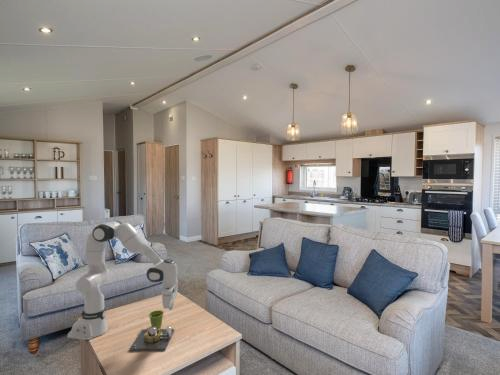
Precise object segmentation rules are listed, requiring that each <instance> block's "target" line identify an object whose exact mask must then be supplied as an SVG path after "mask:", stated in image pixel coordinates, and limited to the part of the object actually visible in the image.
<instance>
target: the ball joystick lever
mask: <svg viewBox="0 0 500 375" xmlns="http://www.w3.org/2000/svg"><path fill="white" fill-rule="evenodd" d="M147 329H148V331H147V332H145V334H144V341H146V342H147V343H149V342H156V341H158V340H160V339H161V338H162V337H168V338H169V337H171V329H172V326H171V325H168V326H167V327H166V329H167V334H162V331H161V329H162V327H160V328H157V333H156V334H154V336H150V333H149V328H147ZM171 338H172V337H171Z"/></svg>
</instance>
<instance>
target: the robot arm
mask: <svg viewBox="0 0 500 375" xmlns="http://www.w3.org/2000/svg"><path fill="white" fill-rule="evenodd" d="M86 238H87V239H86V241H85V242H86V243H85V250H84V251H85V252H84V254H85V255H84V263H85V264H86V265H87V267H88V271H87V272H86V273H85V274H83V275H82V276H81V277H79V279H77V281H76V282H75V289H76V290H77V292H78V293H80V294H81V295H82V297H83V303H84V310H83V311H82V312H81V313H80V318H79V319H77V321H75V322H74V323H73V324H72V327H71V330H70V331H69V332H68V333H67V334H66V336H67V337H66V338H67V339H74V340H75V339H76V340H84V341H85V340H87V341H89V340H91V339H94V338H95V337H97V338H98V337H99V336H102V335H104V334H105V333H107V331H109V327H108V324H107V321H106V313H107V312H106V307H105V296H104V294H103V293H102V292H101V290H100V287H101V286H102V285H103V284H104V283H105V282H107V281H108V279H109V278H110V275H111V274H110V273H111V272H110V270H109V269H108V267H107V264H106V246H107V244H106V243H107V242H108V241H112V240H114V239H117V240H119V241H120V243H121V244H122V246H123V248H125V250H126V251H127V252H128V253H131V254H142V255H143V256H145V257H146V258H147V259H148V260H149V262H151V264H152V266H150V267H149V268H148V269H147V271H146V274H145V275H146V278H147V279H148V281H149V282H150V283H160V282H162V289H161V292H160V294H161V297H162V306H163V309H168V310H169V311H171V310H173V308H174V302H175V300H176V298H177V297H178V288H179V287H178V286H179V280H178V265H177V263H176V261H175V260H173V259H172V258H171V259H170V258H169V259H164V258H163V257H162V256H161V255H159V253H158V252H157V251H156V250H155V248H153V247H152V245H151V244H149V243H148V242H147V241H146V240H145V239H144V238H143V237H142V235H140V233H139V232H138V231H137V229H135V228H134V226H133V225H132V224H130V223H129V222H121V221H119V220H112V221H106V222H104V223H102V224H101V223H100V224H99V225H96V226H95V227H94V228H93V230H92V231H90V233H89V234H88V235H87V237H86Z"/></svg>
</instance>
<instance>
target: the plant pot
mask: <svg viewBox="0 0 500 375" xmlns="http://www.w3.org/2000/svg"><path fill="white" fill-rule="evenodd" d="M164 315H165V312H164V311H163V310H158V309H156V310H153V311H151V312H149V314H148V317H149V319H150V320H149V321H150V325H151V326H150V327H156V329H158V328H162V322H163V317H164Z"/></svg>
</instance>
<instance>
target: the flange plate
mask: <svg viewBox="0 0 500 375" xmlns="http://www.w3.org/2000/svg"><path fill="white" fill-rule="evenodd" d="M148 329H149V333H150V336H154V334H156V333H157V329H158V328H157V329H156V327H152V326H150V328H147V329H142V330H141V331H140V333H139V334H138V335H137V337H136V338H135V340H134V341H133V342H132V344H131V346H130V347H129V352H140V351H141V352H143V351H144V352H146V351H148V352H149V351H153V352H154V351H155V352H157V351H166V350H167V348H168V346H169V344H170V342H171V339H172V337H173V335H174V333H175V329H174V328H171V337H169V338H168V337H162V338H161V339H160V340H158V341H156V342H149V343H147V342H146V341H144V334H145V332H147V331H148ZM161 331H162V334H167V328H164V329H163V328H161Z"/></svg>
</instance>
